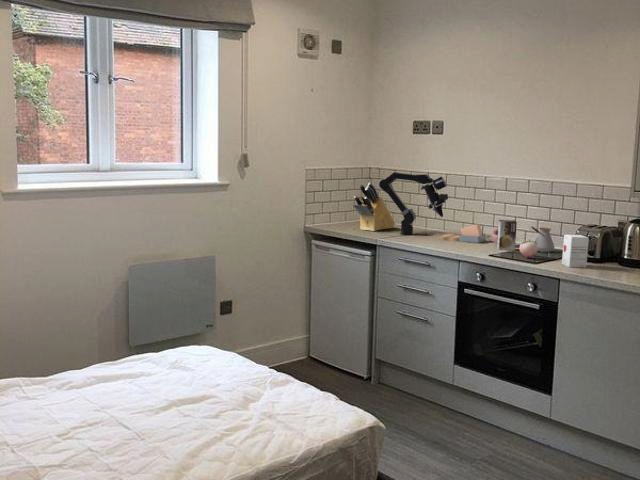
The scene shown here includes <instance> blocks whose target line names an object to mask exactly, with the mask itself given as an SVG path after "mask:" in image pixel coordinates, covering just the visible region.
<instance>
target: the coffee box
mask: <svg viewBox="0 0 640 480" xmlns="http://www.w3.org/2000/svg"><path fill="white" fill-rule="evenodd" d="M517 222H518V221H516V220H514V219H513V220H512V219H511V220H510V219H498V227H497V228H498V243H497V244H496V245H497V247H496V248H497V249H498V250H501V251H515V250H516V242H517V241H516V240H517V224H518V223H517Z"/></svg>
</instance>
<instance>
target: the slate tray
mask: <svg viewBox="0 0 640 480" xmlns="http://www.w3.org/2000/svg"><path fill="white" fill-rule="evenodd" d="M482 234H483V235H481V236H469V235H462V234H458V235H459V241H458V242H460V243H469V244H470V243H472V244H481V243H483V242H485V241H486V233H482Z"/></svg>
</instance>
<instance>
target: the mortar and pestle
mask: <svg viewBox="0 0 640 480" xmlns="http://www.w3.org/2000/svg"><path fill="white" fill-rule="evenodd" d="M491 240H492V242H493V243H494V244H495V245H497V243H498V227H496V228H493V230H492V231H491Z"/></svg>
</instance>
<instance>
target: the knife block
mask: <svg viewBox="0 0 640 480" xmlns="http://www.w3.org/2000/svg"><path fill="white" fill-rule="evenodd" d="M359 188H360V190H361V192H362V194H363V195H364V196H361V195H360V196H357V195H354V196H353V198H354V199H355V201H356V203H357V205H356V204H353V207H354V208H355V210H356V211H357V213H358V214H359V215H360V218H359V222H360V223H359V227H360V228H359V229H360V230H362V231H372V232H375V231H376V232H377V231H380V230H386V229H392V228H394V227H395V225H396V223H395V221H394V218H393V217H392V214H391V213H390V211H389V209H388V207H387V205H386V203H385V202H384V199H383V197H382V196H379V193H378V192H377V189H376V187H375V186H374V184H373V183H372V182H368V184H367V186H366V187H365V186H364V185H363V184H360V185H359ZM361 199H362V200H361Z"/></svg>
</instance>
